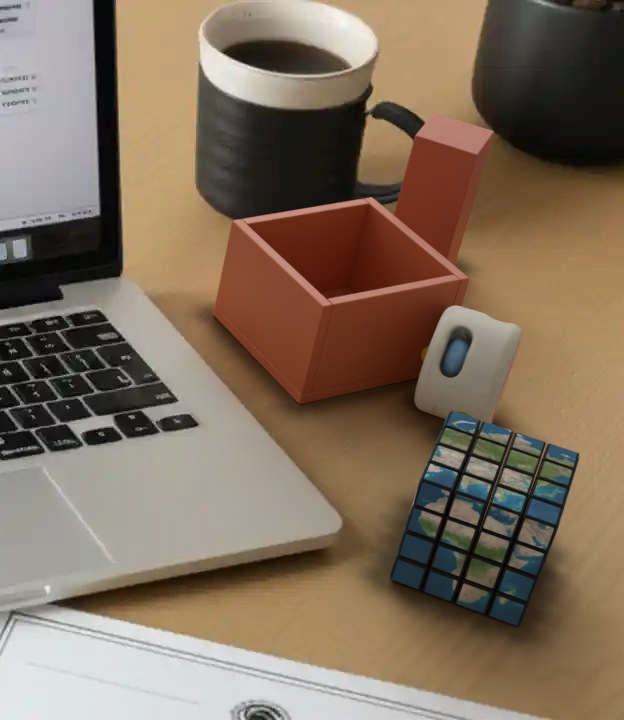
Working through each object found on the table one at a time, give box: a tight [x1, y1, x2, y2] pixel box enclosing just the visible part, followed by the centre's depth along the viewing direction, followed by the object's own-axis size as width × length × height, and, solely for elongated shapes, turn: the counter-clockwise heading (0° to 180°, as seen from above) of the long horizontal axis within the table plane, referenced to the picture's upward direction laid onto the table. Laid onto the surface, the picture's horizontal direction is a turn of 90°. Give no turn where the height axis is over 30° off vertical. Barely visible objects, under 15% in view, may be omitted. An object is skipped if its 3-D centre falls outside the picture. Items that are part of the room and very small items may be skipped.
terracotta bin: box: [212, 196, 470, 405], centre depth 89 cm, size 9×9×6 cm
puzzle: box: [389, 411, 581, 627], centre depth 75 cm, size 6×6×6 cm
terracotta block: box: [393, 112, 495, 267], centre depth 96 cm, size 4×4×9 cm
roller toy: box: [413, 305, 523, 431], centre depth 85 cm, size 4×6×6 cm
